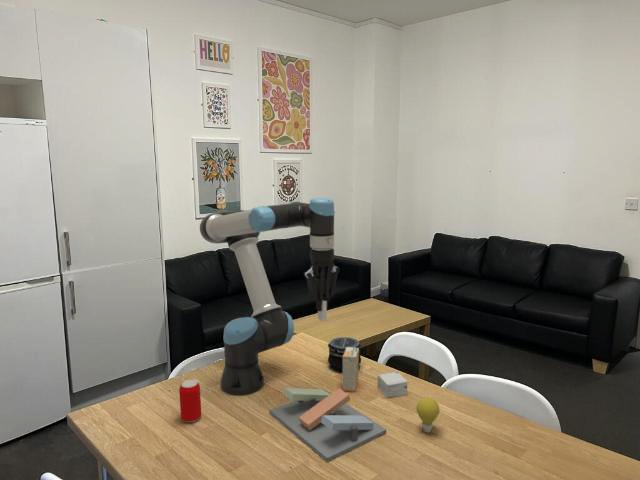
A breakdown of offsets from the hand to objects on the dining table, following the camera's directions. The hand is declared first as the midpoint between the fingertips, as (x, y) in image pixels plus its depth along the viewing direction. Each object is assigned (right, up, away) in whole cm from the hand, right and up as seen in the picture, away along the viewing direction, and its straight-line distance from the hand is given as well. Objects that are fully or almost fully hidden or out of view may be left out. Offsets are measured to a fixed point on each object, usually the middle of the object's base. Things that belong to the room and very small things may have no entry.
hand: (322, 319), depth 154 cm
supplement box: (+10, -26, +15) cm, 32 cm away
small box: (+24, -27, +12) cm, 38 cm away
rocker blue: (+7, -28, -16) cm, 33 cm away
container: (+9, -23, +31) cm, 39 cm away
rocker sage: (-5, -25, 0) cm, 25 cm away
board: (+1, -30, -7) cm, 31 cm away
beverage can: (-41, -30, -5) cm, 51 cm away
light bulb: (+31, -31, -11) cm, 45 cm away
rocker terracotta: (+1, -26, -8) cm, 28 cm away
